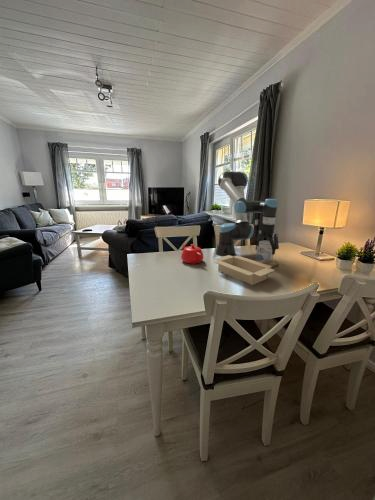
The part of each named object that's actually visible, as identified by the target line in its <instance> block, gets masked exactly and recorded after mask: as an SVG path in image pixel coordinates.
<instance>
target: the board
mask: <svg viewBox="0 0 375 500" xmlns="http://www.w3.org/2000/svg"><path fill="white" fill-rule="evenodd" d="M253 261H257V262H260V263H263V264H266V265H269V266H272V267H271V268H270V269H273V268H275V267H278V266H279V263H277V262H273V261H271V260H265V259H259V258H256V259H253Z"/></svg>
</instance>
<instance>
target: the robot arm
mask: <svg viewBox="0 0 375 500" xmlns="http://www.w3.org/2000/svg"><path fill="white" fill-rule="evenodd" d="M248 179H249V177H248V175H247V174H246V172H243V171H224V172H222V173H220V174H219V176H218V180H217V184H218V187H219V188H220V189H221V190H223V191H224V192H225V193H226V195H227V196H228V197H229V199H230V201H232V203H233V209H234V214H235V222H234V223H233V222H226V223H222V224H220V225H219V231H218V232H219V233H218V244H217V247H216V249H215V254H216V255H218V256H219V257H223V256H227V255H230V256H233V257H234V256H236V248H235V241H247V240H250V239H251V238H252V237H253V236H254V231H255V229H254V226H253V225H252V224H250V221H249V220H248V216H247V214H250V213H251V214H252V213H253V214H254V213H255V214H256V213H258V214H262V215H263V216H262V224H261V229H260V230H256V236H255V238H254V241H253V244H254V246H255V251H256V253H255V256H258V248H259V241H261V240H264V239H265V238H266V239H268V241H270V244H271V247H272V249H271V253H270V259H271V260H273V259H274V255H275V254H276V250H279V248H280V245H279V238H278V237H279V233H275V232H274V231H275V227H276V225H275V223H276V219H277V218H276V216H277V210H278V199H277V198H266V199H265V200H251V201H250V200H247V199H246V197H245V190H246V188H247V185H248V183H249V182H248V181H249V180H248Z"/></svg>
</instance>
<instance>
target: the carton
mask: <svg viewBox="0 0 375 500" xmlns="http://www.w3.org/2000/svg"><path fill="white" fill-rule="evenodd" d="M213 260H214V261H213V262H214V263H215V264H217V265H218V267H217V270H218V272H220V271H221V272H220V273H222V272H223V274H225V275H227V276H230V277H232V278H234V279H236V280H239V281H240V282H241V281H242V282H244V283H246V284H249V285H251V286H253V285H256V284H258V283H260V282H262V281H265V280H267V279H268V275H269V274H271V273H273V272H275V269H273V268H271V267H272V266H269V265H266V264H263V263H260V262H257V261H254V259H250V258H246V257H243V256H240V255H234V256H230V255H227V256H219V257H216V258H214V259H213ZM270 268H271V269H270Z"/></svg>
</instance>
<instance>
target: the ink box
mask: <svg viewBox="0 0 375 500" xmlns="http://www.w3.org/2000/svg"><path fill="white" fill-rule="evenodd" d="M258 241H259V240H258ZM271 249H272V247H271V244H270V241H269V240H264V239H263V240H261V241H259V248H258V255H256V257H257V258H256V259H264V260H267V261H271V260H272V259H270V253H271Z"/></svg>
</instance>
